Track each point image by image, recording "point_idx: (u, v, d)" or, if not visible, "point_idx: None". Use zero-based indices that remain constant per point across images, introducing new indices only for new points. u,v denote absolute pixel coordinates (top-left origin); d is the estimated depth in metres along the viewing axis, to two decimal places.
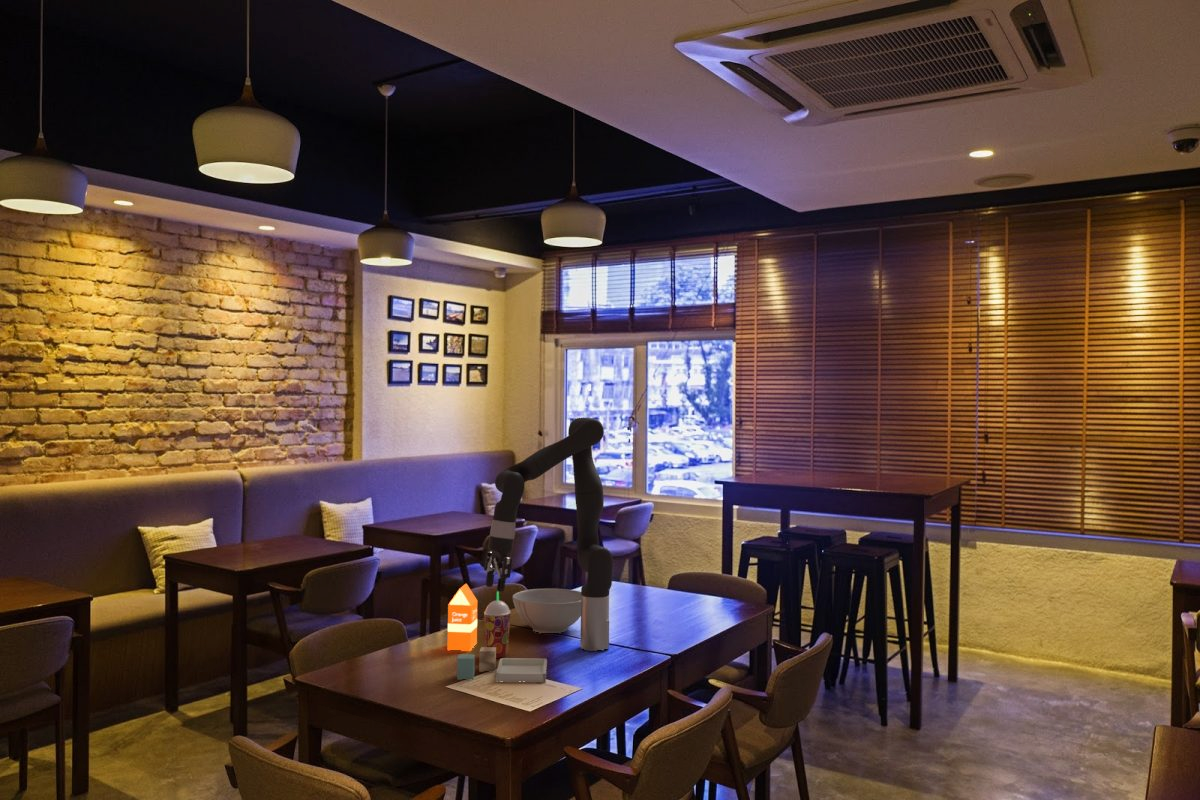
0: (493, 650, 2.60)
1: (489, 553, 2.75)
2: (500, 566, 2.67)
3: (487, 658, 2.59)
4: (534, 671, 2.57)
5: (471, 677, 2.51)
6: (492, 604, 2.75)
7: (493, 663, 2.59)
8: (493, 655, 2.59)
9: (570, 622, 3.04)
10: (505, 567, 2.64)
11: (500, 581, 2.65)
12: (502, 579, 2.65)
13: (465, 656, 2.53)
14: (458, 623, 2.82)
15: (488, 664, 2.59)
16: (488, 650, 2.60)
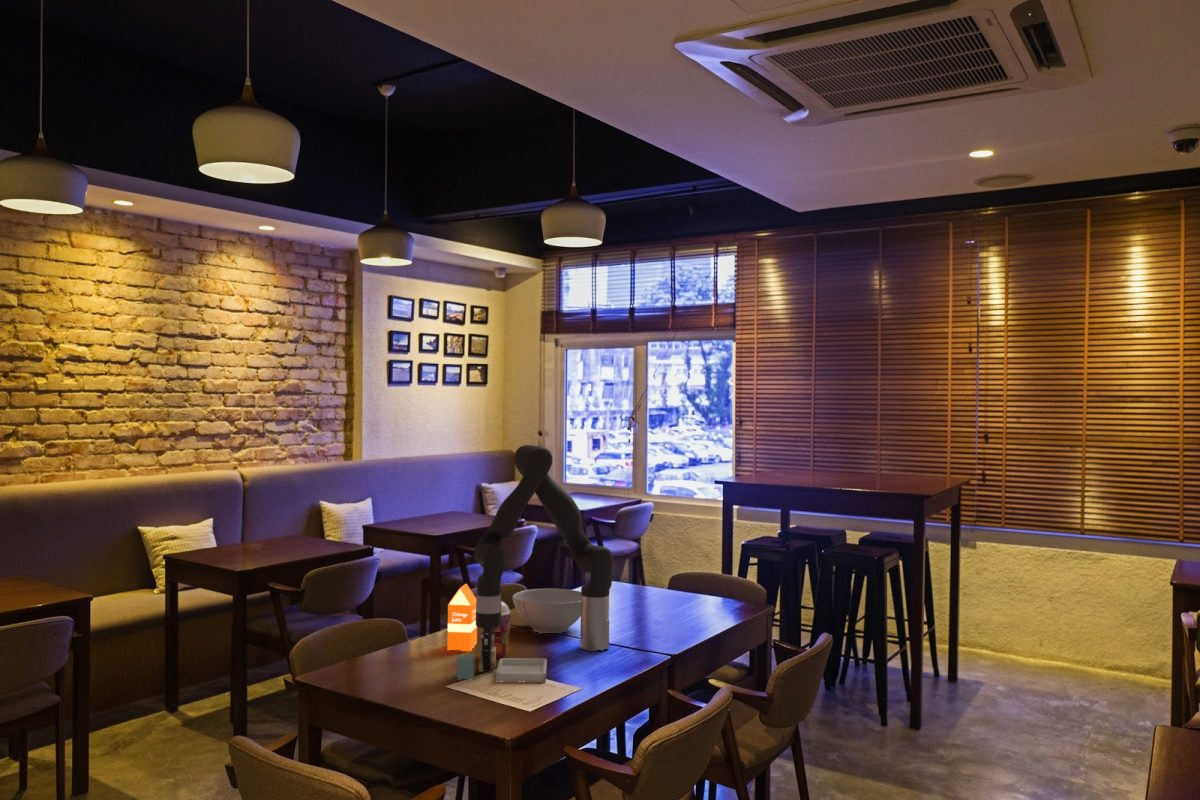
0: (493, 650, 2.60)
1: None
2: None
3: None
4: (534, 671, 2.57)
5: (471, 677, 2.51)
6: None
7: (493, 663, 2.59)
8: (493, 655, 2.59)
9: (570, 622, 3.04)
10: (483, 648, 2.55)
11: (484, 660, 2.58)
12: (485, 658, 2.58)
13: (465, 656, 2.53)
14: (458, 623, 2.82)
15: None
16: None
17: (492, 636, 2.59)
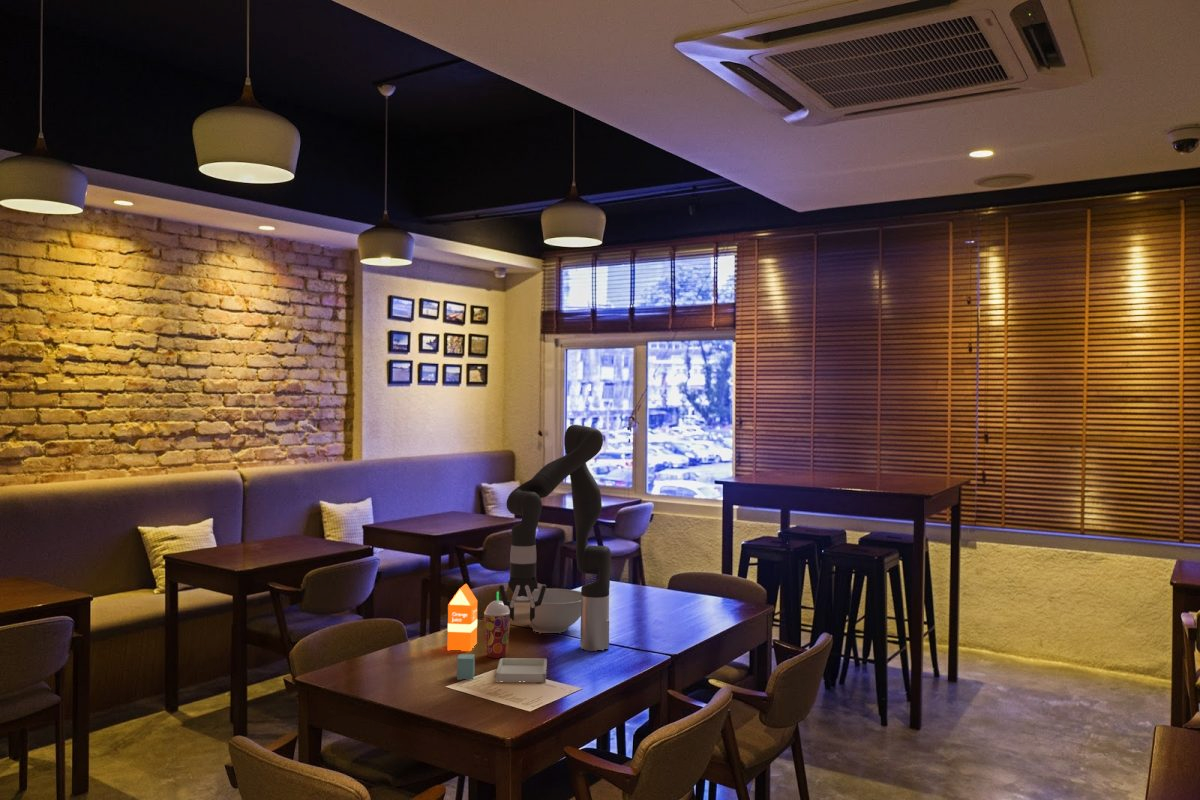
0: (517, 602, 2.51)
1: (542, 585, 2.54)
2: None
3: None
4: (534, 671, 2.57)
5: (471, 677, 2.51)
6: (492, 604, 2.75)
7: (514, 614, 2.51)
8: (514, 606, 2.51)
9: (570, 622, 3.04)
10: None
11: None
12: None
13: (465, 656, 2.53)
14: (458, 623, 2.82)
15: None
16: (518, 601, 2.53)
17: (515, 587, 2.52)
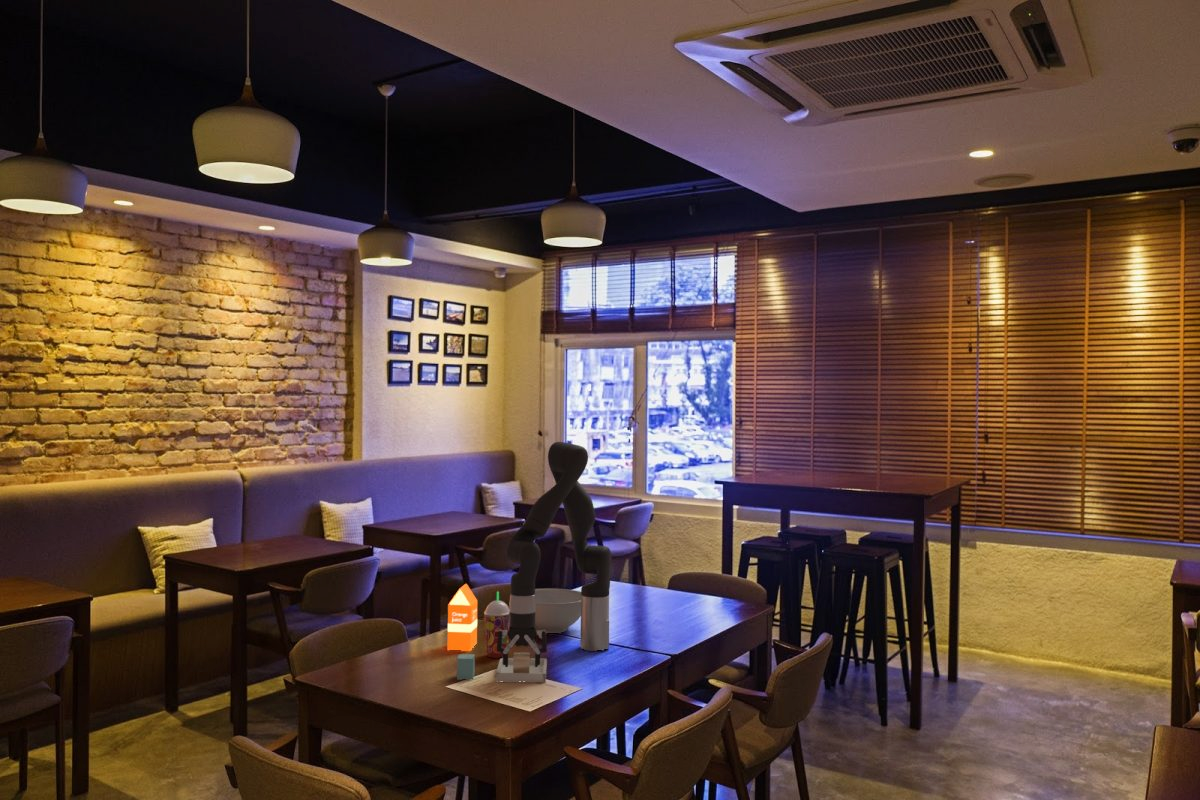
0: (517, 656, 2.51)
1: (542, 631, 2.54)
2: None
3: None
4: (534, 671, 2.57)
5: (471, 677, 2.51)
6: (492, 604, 2.75)
7: (513, 668, 2.51)
8: None
9: (570, 622, 3.04)
10: None
11: None
12: None
13: (465, 656, 2.53)
14: (458, 623, 2.82)
15: None
16: (517, 654, 2.52)
17: (515, 636, 2.51)
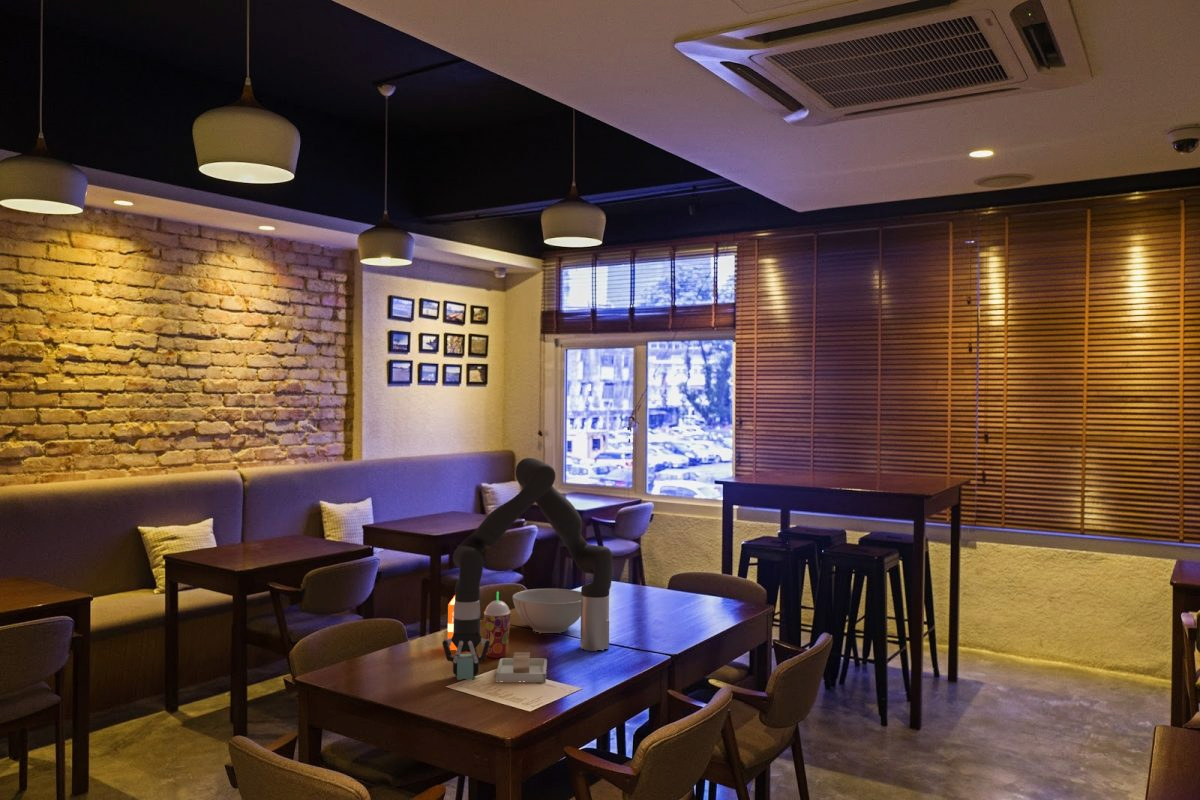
0: (517, 656, 2.51)
1: (486, 640, 2.54)
2: None
3: None
4: (534, 671, 2.57)
5: (471, 677, 2.51)
6: (492, 604, 2.75)
7: (513, 668, 2.51)
8: None
9: (570, 622, 3.04)
10: None
11: None
12: None
13: (465, 655, 2.53)
14: None
15: None
16: (517, 654, 2.52)
17: (459, 642, 2.52)
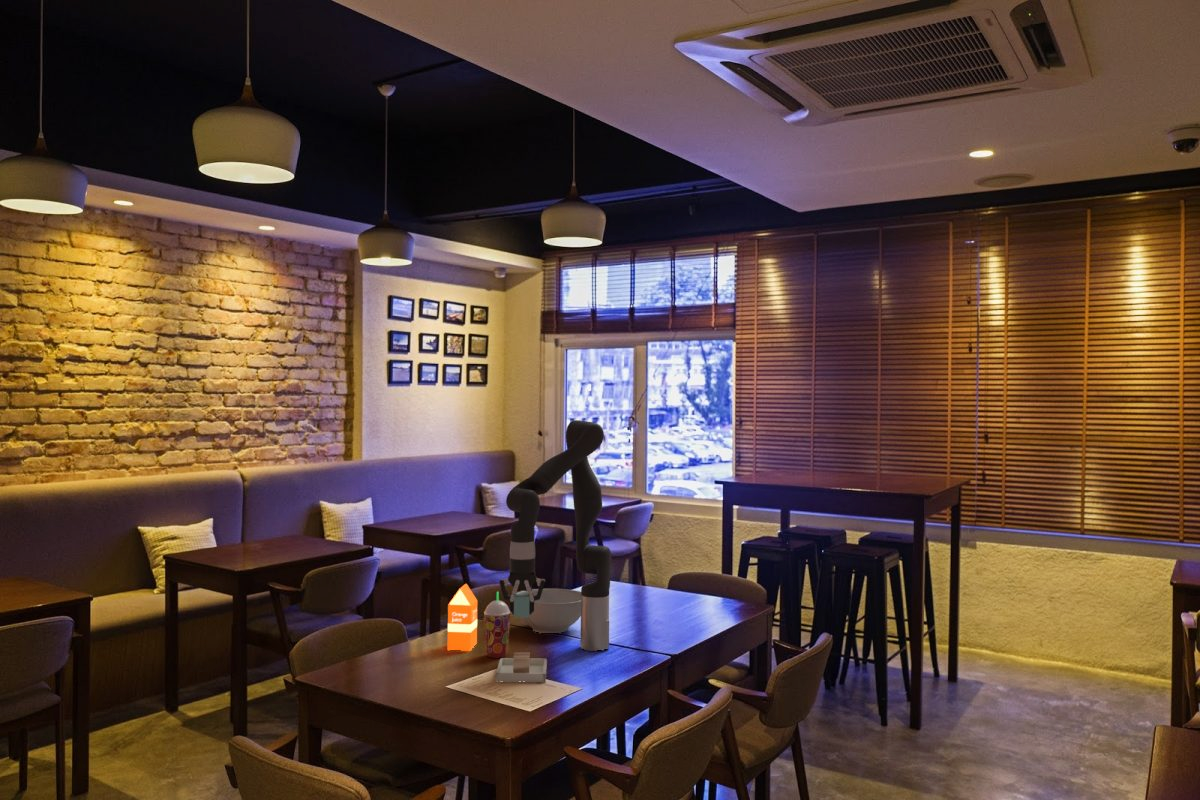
0: (517, 656, 2.51)
1: None
2: None
3: None
4: (534, 671, 2.57)
5: (527, 615, 2.59)
6: (492, 604, 2.75)
7: (513, 668, 2.51)
8: None
9: (570, 622, 3.04)
10: None
11: None
12: None
13: (521, 595, 2.62)
14: (458, 623, 2.82)
15: None
16: (517, 654, 2.52)
17: (515, 582, 2.60)
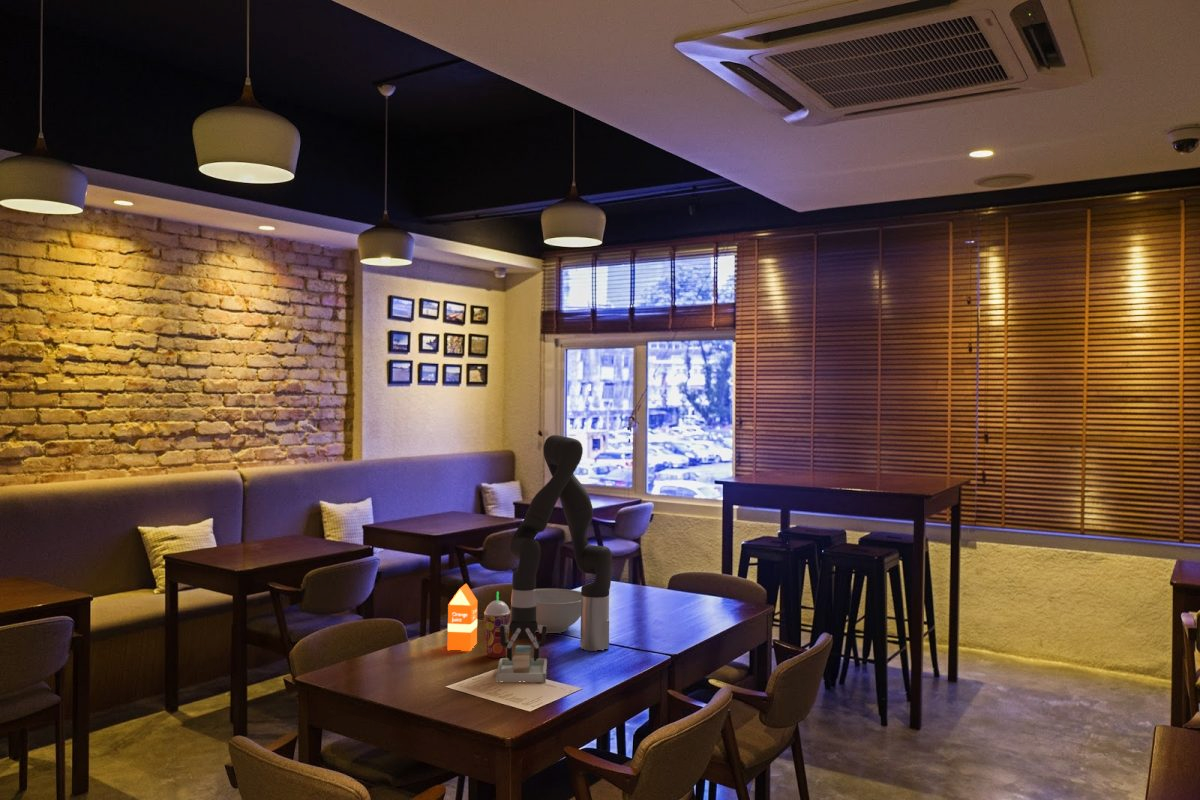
0: (517, 656, 2.51)
1: None
2: None
3: None
4: (534, 671, 2.57)
5: None
6: (492, 604, 2.75)
7: (513, 668, 2.51)
8: None
9: (570, 622, 3.04)
10: None
11: None
12: None
13: (522, 647, 2.61)
14: (458, 623, 2.82)
15: None
16: (517, 654, 2.52)
17: (516, 629, 2.59)
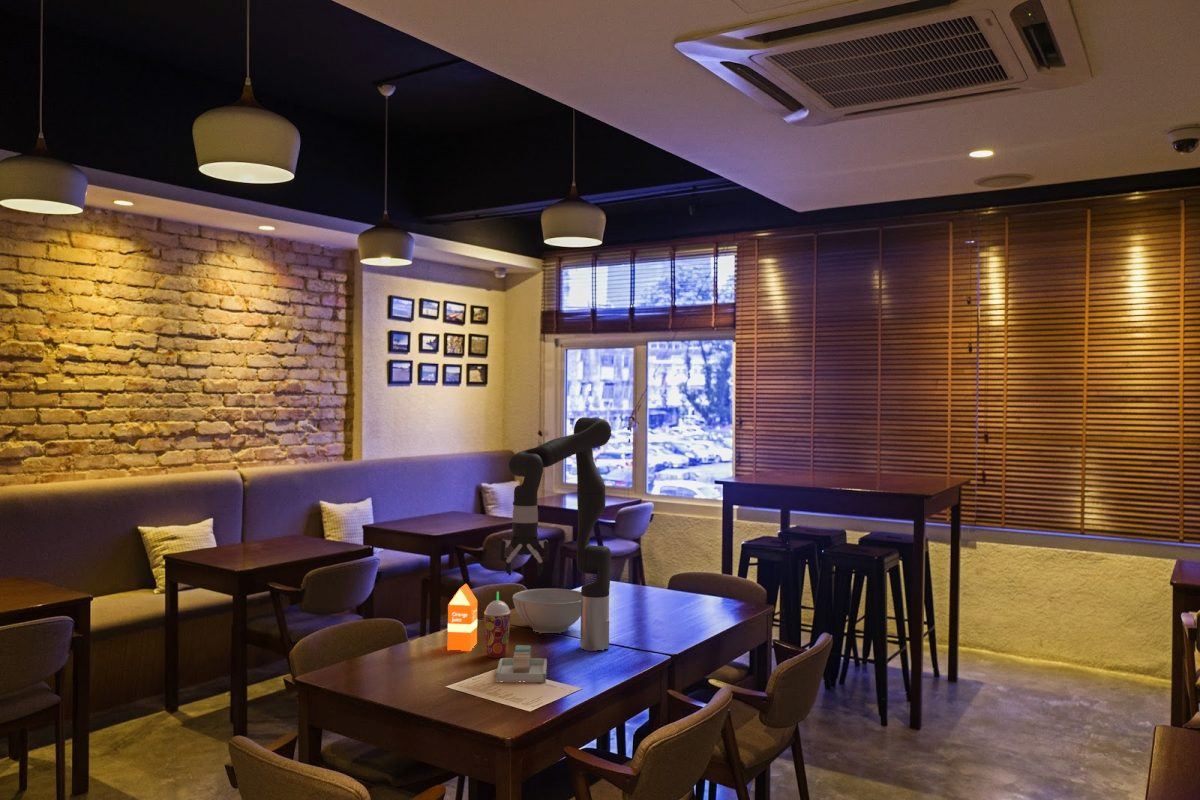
0: (517, 656, 2.51)
1: (544, 541, 2.62)
2: None
3: None
4: (534, 671, 2.57)
5: None
6: (492, 604, 2.75)
7: (513, 668, 2.51)
8: None
9: (570, 622, 3.04)
10: None
11: None
12: None
13: (522, 647, 2.61)
14: (458, 623, 2.82)
15: None
16: (517, 654, 2.52)
17: (518, 545, 2.60)
